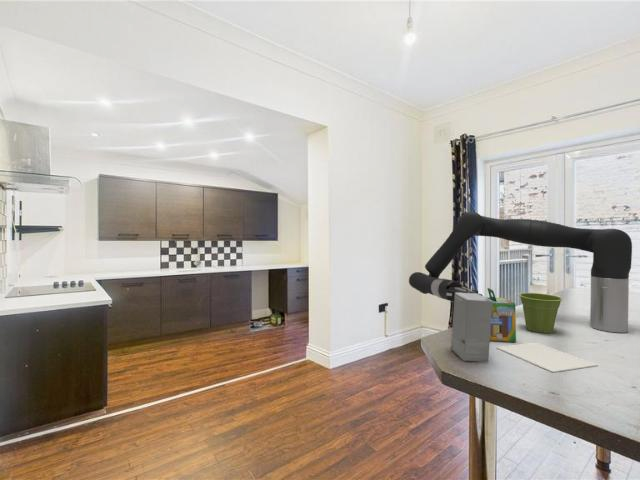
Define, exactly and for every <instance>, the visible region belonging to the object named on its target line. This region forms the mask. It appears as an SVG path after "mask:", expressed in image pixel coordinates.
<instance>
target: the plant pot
mask: <svg viewBox="0 0 640 480" xmlns="http://www.w3.org/2000/svg"><path fill="white" fill-rule="evenodd" d="M518 297H520V301H521V304H522V310H523V316H524V322H525V323H524V324H525V328H526V329H528V330H529V331H530V332H534V333H535V332H536V333H541V334H542V333H546V334H551V333H553V332H554V329H555V328H554V327H555V325H556V321H557V320H556V319H557V315H558V311H559V308H560V305H561V301H563V298H562V297H561V296H558V295H552V294H549V293H547V294H546V293H540V292H539V293H538V292H537V293H536V292H521V293H518Z"/></svg>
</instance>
